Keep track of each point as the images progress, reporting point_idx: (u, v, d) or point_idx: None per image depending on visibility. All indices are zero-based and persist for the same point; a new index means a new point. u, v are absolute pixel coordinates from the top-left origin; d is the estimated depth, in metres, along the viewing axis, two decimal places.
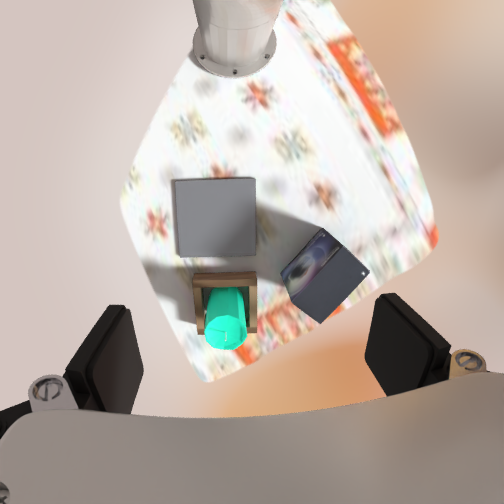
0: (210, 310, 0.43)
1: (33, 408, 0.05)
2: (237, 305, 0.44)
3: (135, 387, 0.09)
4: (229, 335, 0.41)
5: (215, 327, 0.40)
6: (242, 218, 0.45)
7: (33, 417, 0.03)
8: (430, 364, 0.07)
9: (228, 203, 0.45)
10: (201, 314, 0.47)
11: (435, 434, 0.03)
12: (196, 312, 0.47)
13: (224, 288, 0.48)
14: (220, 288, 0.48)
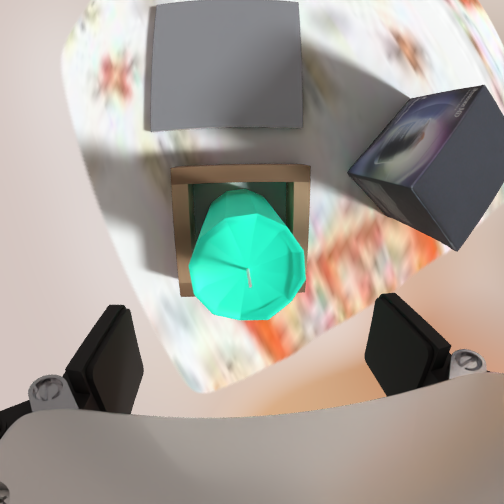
0: (207, 220, 0.17)
1: (33, 408, 0.05)
2: (272, 209, 0.18)
3: (135, 387, 0.09)
4: (257, 280, 0.16)
5: (219, 254, 0.15)
6: (276, 58, 0.20)
7: (33, 417, 0.03)
8: (430, 364, 0.07)
9: (251, 32, 0.19)
10: (188, 248, 0.22)
11: (435, 435, 0.03)
12: (177, 244, 0.22)
13: (239, 192, 0.22)
14: (231, 192, 0.22)
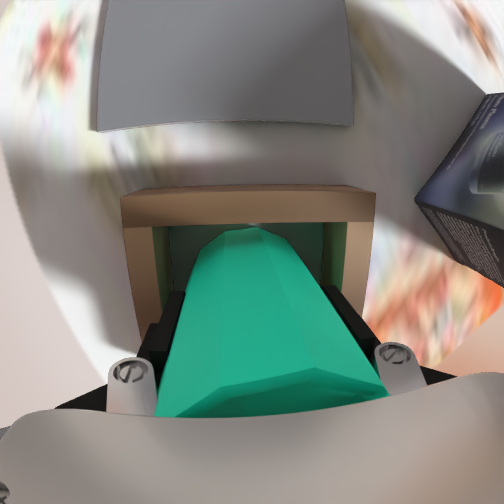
0: (183, 326, 0.08)
1: (110, 386, 0.06)
2: (321, 295, 0.08)
3: None
4: None
5: None
6: (308, 11, 0.11)
7: (33, 417, 0.03)
8: None
9: None
10: None
11: (435, 435, 0.03)
12: (142, 327, 0.12)
13: (247, 237, 0.13)
14: (233, 238, 0.13)
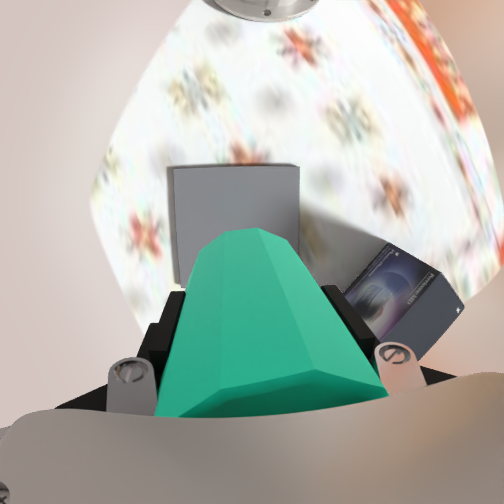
0: (183, 327, 0.08)
1: (109, 386, 0.06)
2: (322, 296, 0.08)
3: None
4: None
5: None
6: (278, 228, 0.29)
7: (33, 417, 0.03)
8: None
9: (257, 204, 0.28)
10: None
11: (435, 435, 0.03)
12: None
13: (247, 237, 0.13)
14: (233, 239, 0.13)
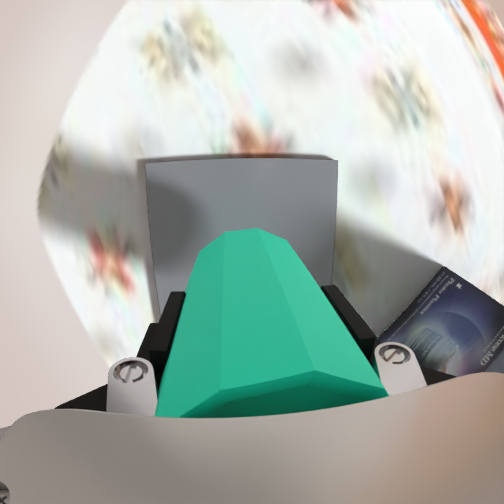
0: (183, 328, 0.08)
1: (110, 386, 0.06)
2: (321, 296, 0.08)
3: None
4: None
5: None
6: (305, 252, 0.20)
7: (33, 417, 0.03)
8: None
9: (275, 216, 0.19)
10: None
11: (435, 435, 0.03)
12: None
13: (247, 238, 0.13)
14: (232, 239, 0.13)
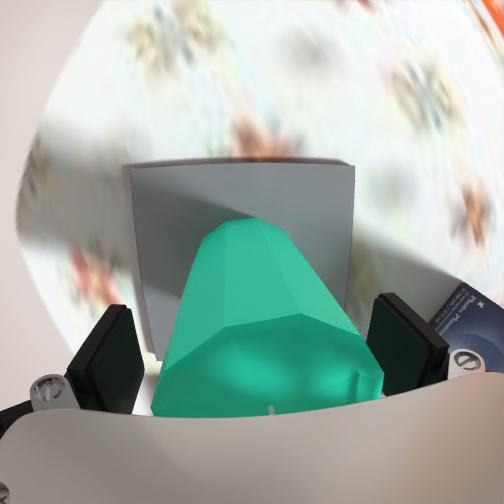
0: (190, 294, 0.09)
1: (34, 407, 0.05)
2: (311, 270, 0.10)
3: (136, 387, 0.09)
4: None
5: (214, 386, 0.07)
6: (316, 271, 0.17)
7: (33, 417, 0.03)
8: (429, 364, 0.07)
9: None
10: None
11: (435, 435, 0.03)
12: None
13: (246, 225, 0.14)
14: (233, 226, 0.14)
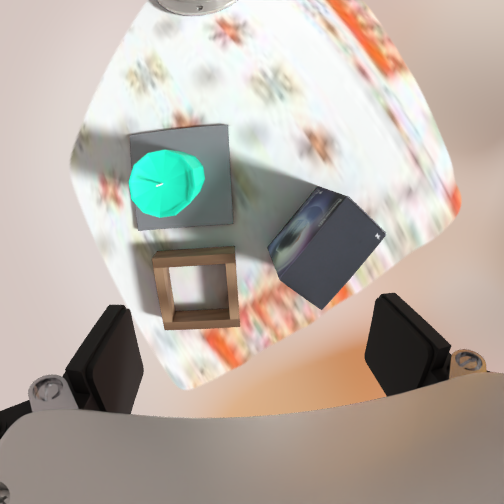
0: None
1: (33, 408, 0.05)
2: (186, 155, 0.27)
3: (135, 387, 0.09)
4: (168, 190, 0.25)
5: (146, 175, 0.24)
6: (213, 175, 0.34)
7: (33, 417, 0.03)
8: (430, 364, 0.07)
9: None
10: (166, 303, 0.36)
11: (435, 434, 0.03)
12: (160, 300, 0.36)
13: None
14: None
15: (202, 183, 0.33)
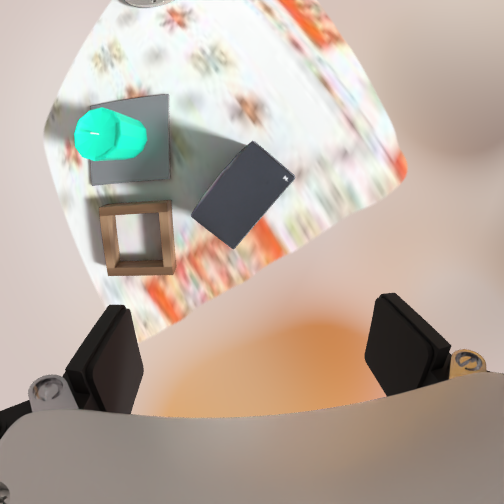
0: None
1: (33, 408, 0.05)
2: None
3: (135, 387, 0.09)
4: (102, 139, 0.27)
5: (87, 128, 0.27)
6: (154, 137, 0.37)
7: (33, 417, 0.03)
8: (430, 364, 0.07)
9: None
10: (109, 249, 0.39)
11: (435, 435, 0.03)
12: (104, 247, 0.39)
13: None
14: None
15: (142, 142, 0.35)
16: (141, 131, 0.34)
